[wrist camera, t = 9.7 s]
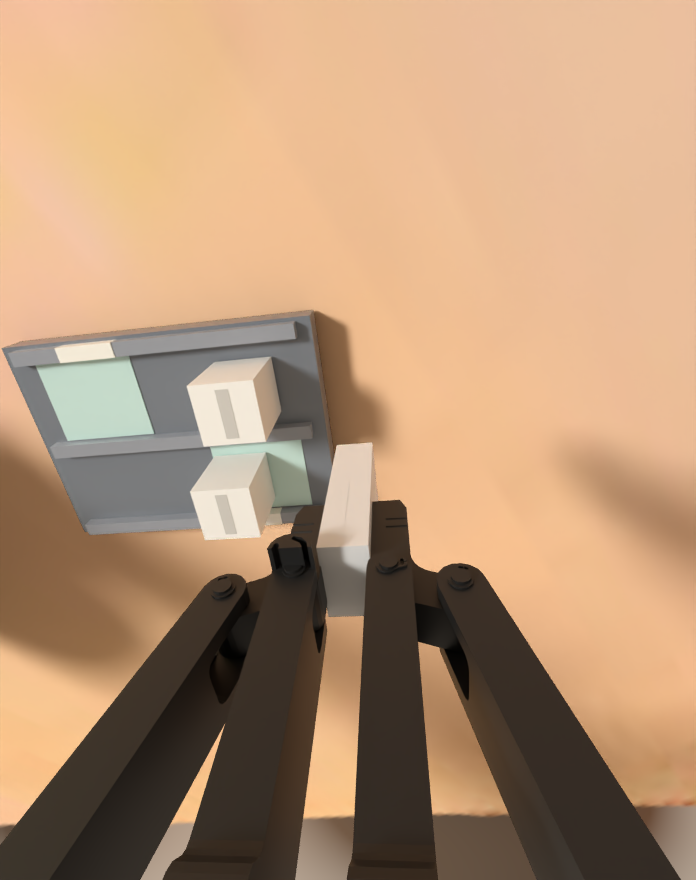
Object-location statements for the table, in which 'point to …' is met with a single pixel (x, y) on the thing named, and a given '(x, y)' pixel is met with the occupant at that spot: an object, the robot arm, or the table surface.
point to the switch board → (170, 417)
